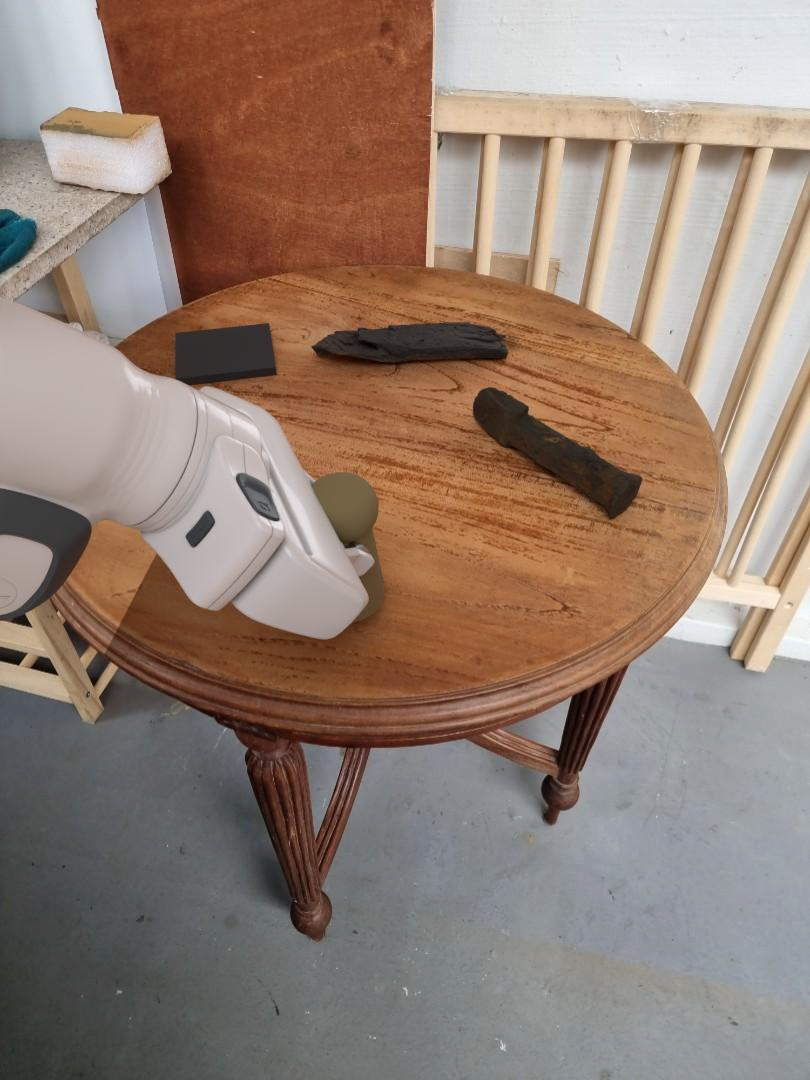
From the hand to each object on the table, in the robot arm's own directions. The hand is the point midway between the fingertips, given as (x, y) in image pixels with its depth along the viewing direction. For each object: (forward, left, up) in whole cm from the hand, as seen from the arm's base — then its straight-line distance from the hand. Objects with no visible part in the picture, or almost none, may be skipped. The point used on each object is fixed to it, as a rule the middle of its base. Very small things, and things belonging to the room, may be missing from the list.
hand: (351, 537), depth 56 cm
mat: (-9, +38, -8) cm, 40 cm away
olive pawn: (-1, 0, -6) cm, 6 cm away
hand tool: (+20, +13, -9) cm, 26 cm away
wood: (+12, +35, -9) cm, 38 cm away
